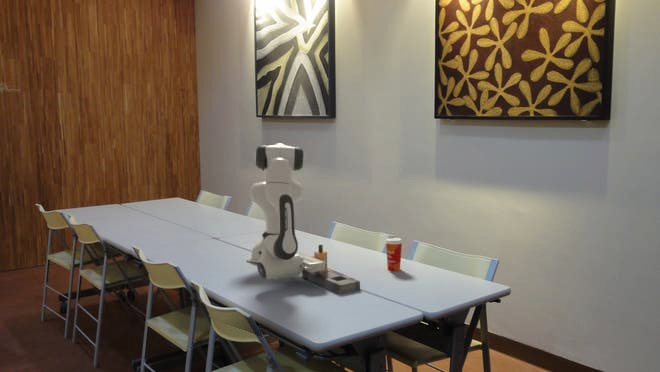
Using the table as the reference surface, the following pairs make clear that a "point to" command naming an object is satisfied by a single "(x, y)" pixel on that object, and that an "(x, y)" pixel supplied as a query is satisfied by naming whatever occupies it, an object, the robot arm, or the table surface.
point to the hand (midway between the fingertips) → (322, 259)
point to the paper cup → (393, 253)
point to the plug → (321, 257)
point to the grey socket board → (333, 280)
